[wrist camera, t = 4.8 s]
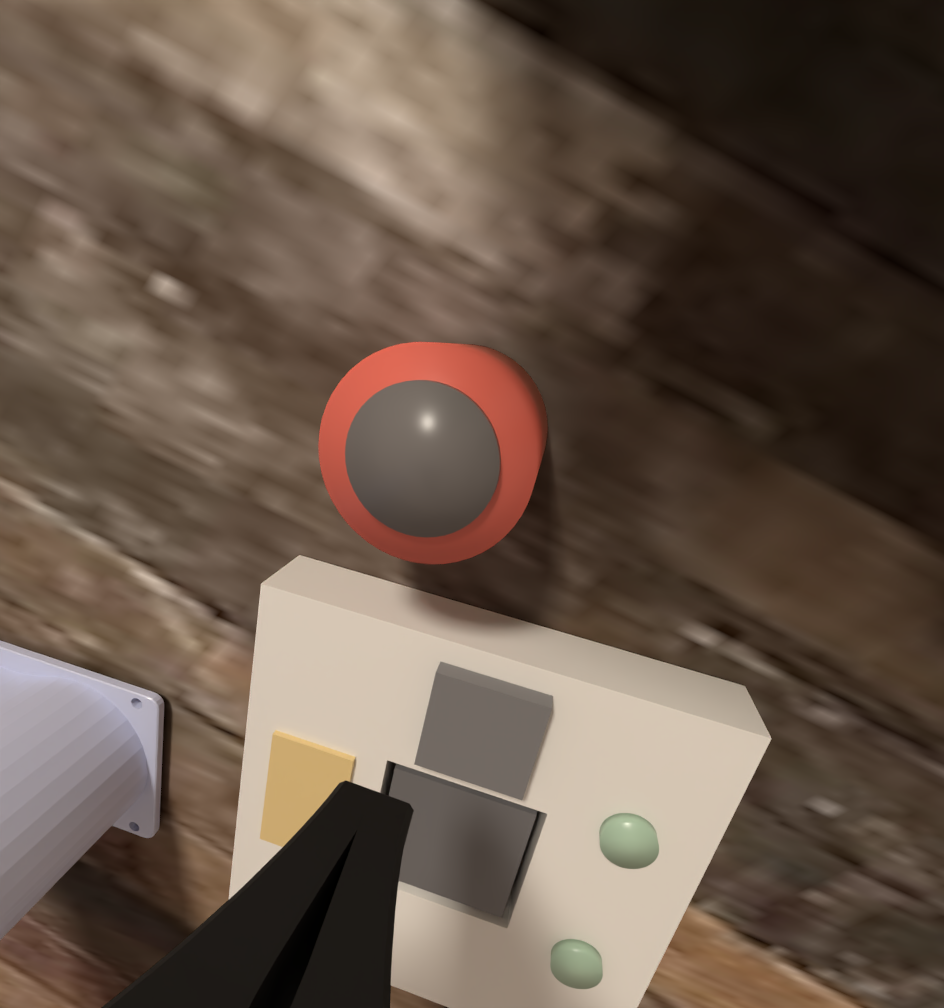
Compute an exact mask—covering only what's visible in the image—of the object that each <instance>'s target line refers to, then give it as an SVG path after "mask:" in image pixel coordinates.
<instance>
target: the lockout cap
mask: <svg viewBox="0 0 944 1008" xmlns="http://www.w3.org/2000/svg"><path fill="white" fill-rule="evenodd" d="M547 432H548V424H547V414H546V409H545V405H544V402H543V399H542V396H541V394H540V392H539V390H538V388H537V386H536V384H535V383H534V381H533V380H532V378H531V377H530V376H529V374H528V373H527V372H526V371H525V370H524V369H523V368H522V367H521V366H520V365H519V364H518V363H516V362H515V361H514V360H513V359H511V358H510V357H508V356H506V355H505V354H503V353H501V352H499V351H496V350H494V349H491V348H488V347H485V346H479V345H473V344H454V343H434V342H412V343H403V344H398V345H395V346H391V347H387V348H385V349H382V350H380V351H378V352H375V353H373V354H372V355H370V356H368V357H367V358H365V359H363V360H362V361H360V362H359V363H358V364H357V365H356V366H354V367H353V368H352V369H351V370H350V371H349V372H348V373H347V374H346V375H345V376H344V377H343V379H342V380H341V381H340V382H339V384H338V385H337V387H336V388H335V390H334V391H333V393H332V395H331V397H330V399H329V401H328V403H327V405H326V408H325V411H324V414H323V417H322V421H321V426H320V432H319V461H320V466H321V472H322V476H323V479H324V482H325V486H326V488H327V491H328V493H329V495H330V497H331V500H332V501H333V503H334V505H335V506H336V508H337V510H338V511H339V513H340V514H341V516H342V517H343V518H344V519H345V521H346V522H347V523H348V524H349V525H350V527H351V528H352V529H353V530H354V531H355V532H356V533H357V534H359V535H360V536H361V537H362V538H363V539H365V540H366V541H367V542H368V543H370V544H371V545H373V546H375V547H376V548H378V549H379V550H381V551H383V552H385V553H387V554H389V555H391V556H394V557H397V558H400V559H403V560H406V561H411V562H415V563H423V564H447V563H453V562H458V561H462V560H465V559H469V558H471V557H474V556H476V555H478V554H480V553H483V552H484V551H486V550H488V549H489V548H491V547H492V546H494V545H495V544H496V543H498V542H499V541H500V540H501V539H502V538H504V537H505V536H506V535H507V534H508V533H509V531H510V530H511V529H512V528H513V527H514V526H515V524H516V523H517V522H518V520H519V519H520V517H521V516H522V514H523V512H524V510H525V508H526V506H527V504H528V502H529V499H530V496H531V493H532V491H533V487H534V484H535V481H536V477H537V474H538V471H539V467H540V464H541V461H542V457H543V454H544V451H545V447H546V442H547Z"/></svg>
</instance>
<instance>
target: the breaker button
mask: <svg viewBox="0 0 944 1008" xmlns="http://www.w3.org/2000/svg"><path fill="white" fill-rule="evenodd" d="M389 796H391V797H393V798H396V799H399V800H402V801H404V802H407V803H410V805H411V807H412V808H413V810H414V812H413V816H412V819H411V823H410V827H409V830H408V834H407V838H406V842H405V845H404V850H403V855H402V861H401V868H400V875H399V881H401V882H404V883H406V884H409V885H412V886H415V887H417V888H420V889H423V890H426V891H429V892H431V893H434V894H437V895H440V896H442V897H445V898H448V899H451V900H454V901H456V902H459V903H462V904H465V905H467V906H470V907H473V908H476V909H479V910H481V911H484V912H487V913H490V914H492V915H495V916H498V917H501V918H502V915H503V912H504V909H505V906H506V903H507V900H508V897H509V895H510V892H511V889H512V886H513V883H514V880H515V877H516V874H517V871H518V868H519V865H520V862H521V859H522V857H523V854H524V851H525V848H526V845H527V842H528V839H529V836H530V833H531V830H532V827H533V824H534V821H535V819H536V816H537V810H534V809H531V808H528V807H525V806H522V805H519V804H517V803H514V802H511V801H508V800H505V799H502V798H499V797H496V796H493V795H490V794H487V793H484V792H481V791H478V790H475V789H472V788H469V787H466V786H463V785H460V784H457V783H454V782H451V781H448V780H445V779H442V778H439V777H436V776H433V775H430V774H427V773H424V772H421V771H418V770H415V769H412V768H409V767H406V766H403V765H400V764H396V766H395V769H394V774H393V778H392V783H391V787H390V792H389Z"/></svg>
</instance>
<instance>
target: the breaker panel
mask: <svg viewBox="0 0 944 1008" xmlns="http://www.w3.org/2000/svg"><path fill="white" fill-rule="evenodd" d="M771 739H772V738H771V736H770V734H769V732H768V730H767V729H766V727H765V725H764V723H763V721H762V719H761V717H760V715H759V713H758V711H757V709H756V707H755V705H754V703H753V701H752V699H751V697H750V695H749V693H748V691H747V689H746V687H745V686H743V685H740V684H736V683H733V682H730V681H726V680H723V679H719V678H716V677H713V676H709V675H706V674H702V673H699V672H696V671H692V670H689V669H685V668H682V667H679V666H675V665H672V664H668V663H665V662H662V661H658V660H655V659H651V658H648V657H645V656H641V655H638V654H634V653H631V652H628V651H624V650H621V649H617V648H614V647H611V646H607V645H604V644H600V643H597V642H594V641H590V640H587V639H583V638H580V637H577V636H573V635H570V634H566V633H563V632H560V631H556V630H553V629H549V628H546V627H543V626H539V625H536V624H532V623H529V622H526V621H522V620H519V619H515V618H512V617H509V616H505V615H502V614H498V613H495V612H492V611H488V610H485V609H481V608H478V607H475V606H471V605H468V604H464V603H461V602H458V601H454V600H451V599H447V598H444V597H441V596H437V595H434V594H430V593H427V592H424V591H420V590H417V589H413V588H410V587H407V586H403V585H400V584H396V583H393V582H390V581H386V580H383V579H379V578H376V577H373V576H369V575H366V574H362V573H359V572H356V571H352V570H349V569H345V568H342V567H339V566H335V565H332V564H328V563H325V562H322V561H318V560H315V559H311V558H308V557H305V556H301V555H299V556H298V557H296V558H295V559H294V560H292V561H291V562H290V563H288V564H287V565H286V566H284V567H283V568H281V569H280V570H279V571H277V572H276V573H275V574H273V575H272V576H271V577H269V578H268V579H267V580H265V581H264V582H263V583H261V590H260V600H259V610H258V619H257V629H256V639H255V648H254V658H253V668H252V677H251V687H250V697H249V706H248V716H247V726H246V736H245V745H244V755H243V765H242V774H241V784H240V794H239V803H238V813H237V823H236V833H235V842H234V852H233V862H232V871H231V881H230V891H229V899H230V898H231V897H232V896H233V895H234V894H236V893H237V892H238V891H239V890H240V889H241V888H242V887H243V886H244V885H245V884H246V883H247V882H248V881H249V880H250V879H251V878H252V877H253V876H254V875H255V874H256V873H257V872H258V871H259V870H260V869H261V868H262V867H263V866H264V865H265V864H266V863H267V862H268V861H269V860H270V859H271V858H272V857H273V856H274V855H275V854H276V853H277V852H278V851H279V850H280V849H281V848H282V847H283V846H284V845H285V844H286V843H287V842H288V841H289V840H290V839H291V838H292V837H293V836H294V835H295V834H296V833H297V832H298V830H299V829H300V828H301V827H302V826H303V825H304V824H305V823H306V822H307V821H308V820H309V819H310V817H311V816H312V815H313V814H314V813H315V812H316V811H317V810H318V808H319V807H320V806H321V805H322V804H323V802H324V801H325V800H326V799H327V798H328V797H329V795H330V794H331V793H332V792H333V790H334V789H335V788H336V786H337V785H338V784H339V783H341V782H343V781H349V782H352V783H355V784H357V785H360V786H363V787H366V788H368V789H371V790H374V791H377V792H379V793H382V794H385V795H388V796H389V792H390V787H391V783H392V778H393V774H394V769H395V766H396V764H400V765H403V766H406V767H409V768H412V769H415V770H418V771H421V772H424V773H427V774H430V775H433V776H436V777H439V778H442V779H445V780H448V781H451V782H454V783H457V784H460V785H463V786H466V787H469V788H472V789H475V790H478V791H481V792H484V793H487V794H490V795H493V796H496V797H499V798H502V799H505V800H508V801H511V802H514V803H517V804H519V805H522V806H525V807H528V808H531V809H534V810H537V816H536V819H535V821H534V824H533V827H532V830H531V833H530V836H529V839H528V842H527V845H526V848H525V851H524V854H523V857H522V859H521V862H520V865H519V868H518V871H517V874H516V877H515V880H514V883H513V886H512V889H511V892H510V895H509V897H508V900H507V903H506V906H505V909H504V912H503V915H502V918H501V917H498V916H495V915H492V914H490V913H487V912H484V911H481V910H479V909H476V908H473V907H470V906H467V905H465V904H462V903H459V902H456V901H454V900H451V899H448V898H445V897H442V896H440V895H437V894H434V893H431V892H429V891H426V890H423V889H420V888H417V887H415V886H412V885H409V884H406V883H404V882H401V881H399V882H398V890H397V899H396V909H395V922H394V935H393V949H392V966H391V986H394V987H396V988H399V989H402V990H404V991H407V992H409V993H412V994H415V995H417V996H420V997H422V998H425V999H428V1000H430V1001H433V1002H435V1003H438V1004H441V1005H443V1006H446V1007H448V1008H637V1007H638V1005H639V1003H640V1001H641V999H642V997H643V995H644V993H645V991H646V989H647V987H648V985H649V983H650V981H651V979H652V977H653V975H654V973H655V971H656V969H657V967H658V965H659V963H660V961H661V959H662V957H663V955H664V953H665V951H666V949H667V947H668V945H669V943H670V941H671V939H672V937H673V935H674V933H675V931H676V929H677V927H678V925H679V923H680V921H681V919H682V917H683V915H684V913H685V911H686V909H687V907H688V905H689V903H690V901H691V899H692V897H693V895H694V893H695V891H696V889H697V887H698V885H699V883H700V881H701V879H702V877H703V875H704V873H705V871H706V869H707V867H708V865H709V863H710V861H711V859H712V857H713V855H714V853H715V851H716V849H717V847H718V845H719V843H720V841H721V839H722V837H723V835H724V833H725V831H726V829H727V827H728V825H729V823H730V821H731V819H732V817H733V815H734V813H735V811H736V809H737V807H738V805H739V803H740V801H741V799H742V797H743V795H744V793H745V791H746V789H747V787H748V785H749V783H750V781H751V779H752V777H753V775H754V773H755V771H756V769H757V767H758V765H759V763H760V761H761V759H762V757H763V755H764V753H765V751H766V749H767V747H768V745H769V743H770V741H771Z"/></svg>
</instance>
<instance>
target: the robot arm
mask: <svg viewBox="0 0 944 1008" xmlns="http://www.w3.org/2000/svg"><path fill="white" fill-rule="evenodd" d="M163 726H164V701H163V699H162V697H161V696H160V695H159V694H157V693H155V692H152V691H149V690H146V689H143V688H140V687H137V686H134V685H131V684H128V683H125V682H122V681H119V680H116V679H113V678H110V677H107V676H104V675H101V674H98V673H95V672H93V671H90V670H87V669H84V668H81V667H78V666H75V665H72V664H69V663H66V662H63V661H60V660H57V659H54V658H51V657H48V656H45V655H42V654H39V653H36V652H33V651H30V650H27V649H24V648H21V647H18V646H15V645H12V644H9V643H6V642H3V641H0V940H1V939H2V938H3V937H4V936H5V935H6V934H7V933H8V932H9V931H10V930H11V929H12V928H13V927H14V926H15V925H16V924H17V922H18V921H19V920H20V919H21V918H22V917H23V916H24V915H25V914H26V913H27V912H28V911H29V910H30V909H31V908H32V907H33V906H34V905H35V904H36V903H37V902H38V901H39V900H40V899H41V898H42V897H43V896H44V895H45V894H46V893H47V892H48V891H49V890H50V889H51V888H52V887H53V886H54V884H55V883H56V882H57V881H58V880H59V879H60V878H61V877H62V876H63V875H64V874H65V873H66V872H67V871H68V870H69V869H70V868H71V867H72V866H73V865H74V864H75V863H76V862H77V861H78V860H79V859H80V858H81V857H82V856H83V855H84V854H85V853H86V852H87V851H88V850H89V849H90V848H91V846H92V845H93V844H94V843H95V842H96V841H97V840H98V839H99V838H100V837H101V836H102V835H103V834H104V833H105V832H106V831H107V830H108V829H109V828H110V827H111V826H114V827H117V828H120V829H122V830H125V831H128V832H130V833H133V834H136V835H138V836H141V837H144V838H151V837H153V836H154V835H155V834H156V832H157V831H158V830H159V823H160V799H161V775H162V750H163ZM413 812H414V810H413V808H412V807H411V805H410V803H407V802H404V801H402V800H399V799H396V798H393V797H391V796H388V795H385V794H382V793H379V792H377V791H374V790H371V789H368V788H366V787H363V786H360V785H357V784H355V783H352V782H349V781H343V782H341V783H339V784H338V785H337V786H336V788H335V789H334V790H333V792H332V793H331V794H330V795H329V797H328V798H327V799H326V800H325V801H324V802H323V804H322V805H321V806H320V807H319V808H318V810H317V811H316V812H315V813H314V814H313V815H312V816H311V817H310V819H309V820H308V821H307V822H306V823H305V824H304V825H303V826H302V827H301V828H300V829H299V830H298V832H297V833H296V834H295V835H294V836H293V837H292V838H291V839H290V840H289V841H288V842H287V843H286V844H285V845H284V846H283V847H282V848H281V849H280V850H279V851H278V852H277V853H276V854H275V855H274V856H273V857H272V858H271V859H270V860H269V861H268V862H267V863H266V864H265V865H264V866H263V867H262V868H261V869H260V870H259V871H258V872H257V873H256V874H255V875H254V876H253V877H252V878H251V879H250V880H249V881H248V882H247V883H246V884H245V885H244V886H243V887H242V888H241V889H240V890H239V891H238V892H237V893H236V894H234V895H233V896H232V897H231V898H230V899H229V900H228V901H227V902H226V903H225V904H223V905H222V906H221V907H220V908H219V909H218V910H217V911H216V912H215V913H214V914H212V915H211V916H210V917H209V918H208V919H207V920H206V921H205V922H204V923H203V924H201V925H200V926H199V927H198V928H197V929H196V930H195V931H194V932H193V933H191V934H190V935H189V936H188V937H187V938H186V939H185V940H183V941H182V942H181V943H180V944H179V945H178V946H176V947H175V948H174V949H173V950H172V951H171V952H169V953H168V954H167V955H166V956H165V957H164V958H162V959H161V960H160V961H159V962H158V963H156V964H155V965H154V966H153V967H152V968H150V969H149V970H148V971H147V972H145V973H144V974H143V975H142V976H140V977H139V978H138V979H137V980H136V981H134V982H133V983H132V984H131V985H129V986H128V987H127V988H126V989H124V990H123V991H122V992H121V993H119V994H118V995H117V996H116V997H114V998H113V999H112V1000H111V1001H109V1002H108V1003H107V1004H105V1005H104V1006H103V1007H102V1008H390V989H391V966H392V949H393V935H394V922H395V909H396V899H397V890H398V882H399V875H400V868H401V861H402V855H403V850H404V845H405V842H406V838H407V834H408V830H409V827H410V823H411V819H412V816H413Z"/></svg>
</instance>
